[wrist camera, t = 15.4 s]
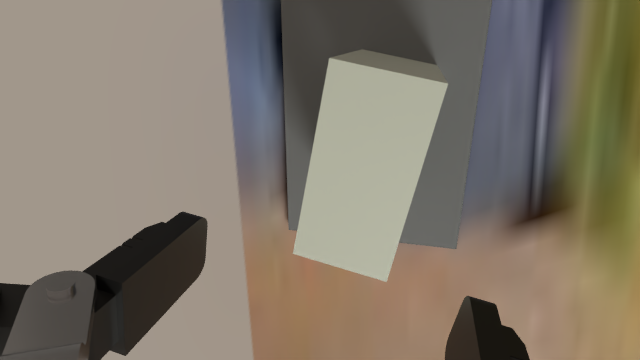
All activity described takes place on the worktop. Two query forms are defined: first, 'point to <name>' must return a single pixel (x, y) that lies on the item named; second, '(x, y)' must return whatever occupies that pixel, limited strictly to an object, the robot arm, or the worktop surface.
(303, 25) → the mat
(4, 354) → the robot arm
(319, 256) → the tall sage green block
